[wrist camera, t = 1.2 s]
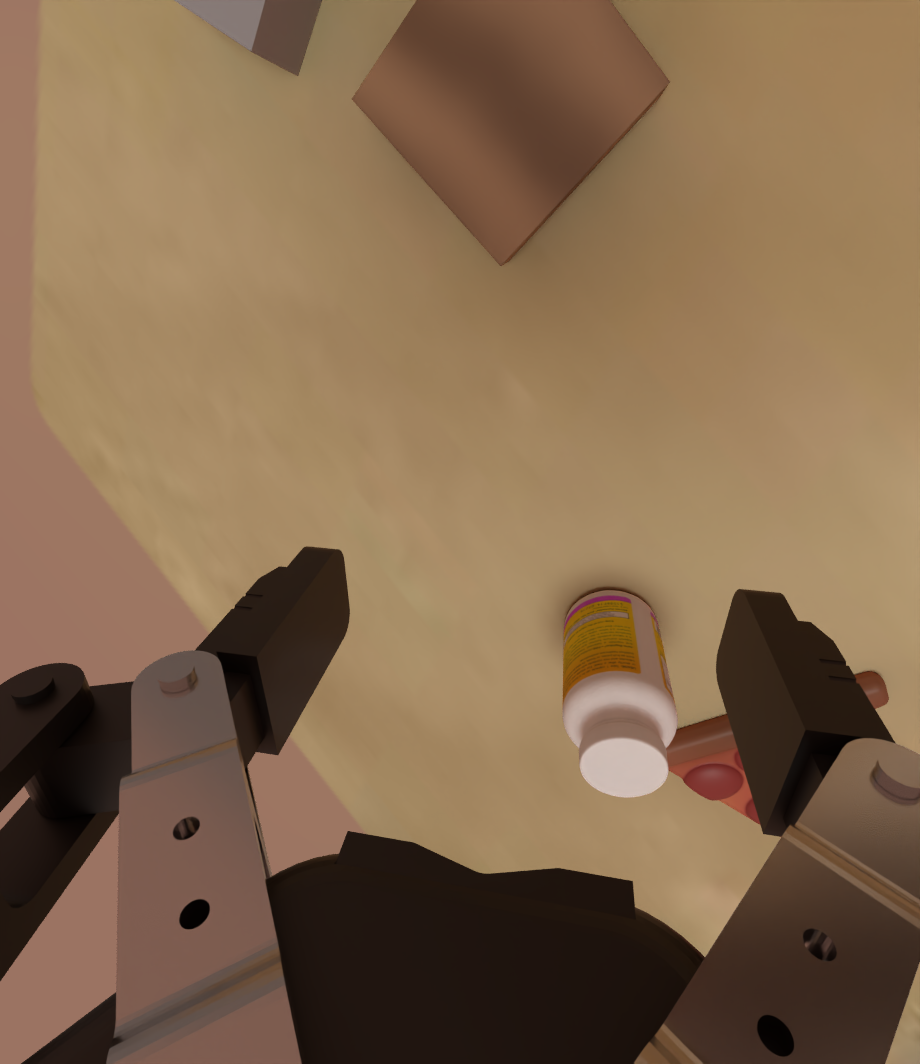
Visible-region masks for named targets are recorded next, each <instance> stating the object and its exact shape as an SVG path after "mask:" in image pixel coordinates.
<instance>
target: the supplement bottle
mask: <svg viewBox="0 0 920 1064" xmlns="http://www.w3.org/2000/svg"><path fill="white" fill-rule="evenodd" d="M563 722H564V726H565V729H566V732H567V734H568V735H569V737H570V738H571V740H572V741H573V742H574V744H575V745H576V746H577V747H578V748H579V765H580V770H581V773H582V775H583V777H584V778H585V780H586V781H587V782H588V783H589V784H590V785H591V786H592V787H594V788H595V789H597V790H599V791H601V792H603V793H606V794H609V795H613V796H618V797H637V796H642V795H646V794H649V793H651V792H653V791H655V790H657V789H658V788H659V787H660V786H661V785H662V784H663V783H664V782H665V780H666V778H667V775H668V760H667V751H666V748H667V747H668V746H669V744H670V743H671V741H672V740H673V738H674V736H675V733H676V729H677V723H678V719H677V711H676V706H675V701H674V697H673V692H672V688H671V683H670V678H669V674H668V669H667V664H666V659H665V654H664V649H663V645H662V640H661V635H660V631H659V626H658V623H657V619H656V617H655V615H654V613H653V611H652V610H651V608H650V607H649V606H648V605H647V604H646V603H645V602H644V601H642V600H641V599H639V598H638V597H636V596H634V595H632V594H629V593H626V592H622V591H615V590H605V591H599V592H595V593H591V594H589V595H587V596H585V597H583V598H581V599H580V600H579V601H577V602H576V603H575V604H574V605H573V606H572V608H571V609H570V611H569V612H568V614H567V616H566V619H565V624H564V658H563Z"/></svg>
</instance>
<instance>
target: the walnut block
mask: <svg viewBox="0 0 920 1064" xmlns="http://www.w3.org/2000/svg"><path fill="white" fill-rule="evenodd" d="M669 83H670V81H669V80H668V79H667V77H666V76H665V75H664V73H663V72H662V70H661V69H660V68H659V66H658V65H657V64H656V62H655V61H654V60H653V58H652V57H651V56H650V54H649V53H648V51H647V50H646V49H645V47H644V46H643V45H642V43H641V42H640V41H639V39H638V38H637V37H636V35H635V34H634V33H633V31H632V30H631V28H630V27H629V26H628V24H627V23H626V22H625V20H624V19H623V18H622V16H621V15H620V14H619V12H618V11H617V10H616V8H615V7H614V5H613V4H612V3H611V1H610V0H417V1H416V2H415V4H414V5H413V7H412V8H411V10H410V11H409V13H408V14H407V16H406V17H405V19H404V20H403V22H402V23H401V25H400V26H399V28H398V29H397V31H396V33H395V34H394V36H393V37H392V39H391V40H390V42H389V43H388V45H387V46H386V48H385V49H384V51H383V52H382V54H381V55H380V57H379V58H378V60H377V61H376V63H375V64H374V66H373V67H372V69H371V70H370V72H369V74H368V75H367V77H366V78H365V80H364V81H363V83H362V84H361V86H360V87H359V89H358V90H357V92H356V93H355V95H354V96H353V98H352V100H353V101H354V102H355V103H356V104H357V106H358V107H359V108H360V109H361V110H362V111H363V112H364V113H365V114H366V116H367V117H368V118H369V119H370V120H371V121H372V122H373V123H374V125H375V126H376V127H377V128H378V129H379V130H380V131H381V132H382V134H383V135H384V136H385V137H386V138H387V139H388V140H389V141H390V142H391V144H392V145H393V146H394V147H395V148H396V149H397V150H398V151H399V153H400V154H401V155H402V156H403V157H404V158H405V159H406V160H407V162H408V163H409V164H410V165H411V166H412V167H413V168H414V169H415V171H416V172H417V173H418V174H419V175H420V176H421V177H422V178H423V179H424V181H425V182H426V183H427V184H428V185H429V186H430V187H431V188H432V190H433V191H434V192H435V193H436V194H437V195H438V196H439V197H440V199H441V200H442V201H443V202H444V203H445V204H446V205H447V206H448V208H449V209H450V210H451V211H452V212H453V213H454V214H455V215H456V216H457V218H458V219H459V220H460V221H461V222H462V223H463V224H464V225H465V227H466V228H467V229H468V230H469V231H470V232H471V233H472V234H473V236H474V237H475V238H476V239H477V240H478V241H479V242H480V243H481V245H482V246H483V247H484V248H485V249H486V250H487V251H488V252H489V253H490V255H491V256H492V257H493V258H494V259H495V260H496V261H497V262H498V264H499V265H500V266H502V265H503V264H505V263H507V262H508V261H509V260H510V259H511V258H512V257H513V256H514V255H515V254H516V253H517V251H518V250H519V249H520V248H521V247H522V246H523V245H524V244H525V243H526V242H527V241H528V240H529V238H530V237H531V236H532V235H533V234H534V233H535V232H536V231H537V230H538V229H539V228H540V226H541V225H542V224H543V223H544V222H545V221H546V220H547V219H548V218H549V217H550V216H551V215H552V213H553V212H554V211H555V210H556V209H557V208H558V207H559V206H560V205H561V204H562V203H563V202H564V200H565V199H566V198H567V197H568V196H569V195H570V194H571V193H572V192H573V191H574V190H575V189H576V187H577V186H578V185H579V184H580V183H581V182H582V181H583V180H584V179H585V178H586V177H587V175H588V174H589V173H590V172H591V171H592V170H593V169H594V168H595V167H596V166H597V165H598V164H599V162H600V161H601V160H602V159H603V158H604V157H605V156H606V155H607V154H608V153H609V152H610V151H611V149H612V148H613V147H614V146H615V145H616V144H617V143H618V142H619V141H620V140H621V139H622V138H623V136H624V135H625V134H626V133H627V132H628V131H629V130H630V129H631V128H632V127H633V126H634V125H635V123H636V122H637V121H638V120H639V119H640V118H641V117H642V116H643V115H644V114H645V113H646V111H647V110H648V109H649V108H650V107H651V106H652V105H653V104H654V103H655V102H656V101H657V100H658V98H659V97H660V96H661V94H662V93H663V91H664V90H665V88H666V87H667V86H668V84H669Z"/></svg>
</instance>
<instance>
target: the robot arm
mask: <svg viewBox="0 0 920 1064" xmlns="http://www.w3.org/2000/svg"><path fill="white" fill-rule="evenodd" d="M349 615H350V609H349V599H348V590H347V581H346V572H345V563H344V557H343V554H342V552H341V551H340V550H338V549H328V548H317V547H304V548H303V549H302V550H301V551H300V552H299V553H298V555H297V556H296V557H295V558H294V559H293V561H292V562H291V563H290V564H289V565H288V567H278V568H276V569H274V570H273V571H271V572H269V573H268V574H266V575H264V576H262V577H261V578H259V579H258V580H257V581H256V582H255V584H254V585H253V586H252V587H251V588H250V589H249V590H248V591H247V593H246V596H245V597H244V596H243V597H242V598H241V599H240V600H239V602H238V603H237V604H236V605H235V608H234V609H231V610H230V612H229V613H228V614H227V615H226V616H225V617H224V618H223V619H222V621H221V622H220V623H219V624H218V625H217V626H216V627H215V628H214V630H213V631H212V632H211V633H210V634H209V635H208V636H207V637H206V639H205V640H204V641H203V642H202V643H201V644H200V645H199V646H198V647H197V649H196V650H195V651H183V652H178V653H174V654H171V655H168V656H166V657H164V658H161V659H159V660H157V661H155V662H154V663H152V664H151V665H149V666H148V667H146V668H145V669H144V670H143V671H142V672H141V673H140V674H139V675H138V676H137V677H136V679H135V681H134V682H125V683H116V684H107V685H99V686H89V685H88V682H87V680H86V677H85V675H84V673H83V671H82V670H81V669H80V668H79V667H78V666H75V665H73V664H67V663H54V664H48V665H42V666H39V667H35V668H32V669H29V670H27V671H25V672H22V673H20V674H18V675H16V676H14V677H12V678H10V679H9V680H7V681H6V682H4V683H3V684H1V685H0V812H1V811H2V810H3V808H4V807H5V806H6V805H7V804H8V803H9V802H10V801H11V800H12V799H13V797H14V796H15V795H16V794H17V793H18V792H19V791H20V790H21V789H22V788H23V786H25V788H26V790H27V792H28V794H29V796H30V797H29V798H28V800H27V801H26V802H25V803H24V804H23V805H22V806H21V808H20V809H19V810H18V811H17V812H16V813H15V814H14V815H13V817H12V818H11V819H10V820H9V821H8V822H7V824H6V825H5V826H4V827H3V828H2V829H1V830H0V981H1V979H2V978H3V977H4V975H5V974H6V972H7V971H8V970H9V968H10V967H11V965H12V964H13V962H14V961H15V959H16V958H17V957H18V955H19V954H20V952H21V951H22V950H23V948H24V947H25V945H26V944H27V943H28V941H29V940H30V938H31V937H32V935H33V934H34V933H35V931H36V930H37V928H38V927H39V926H40V924H41V923H42V921H43V920H44V919H45V917H46V916H47V914H48V913H49V911H50V910H51V909H52V907H53V906H54V904H55V903H56V902H57V900H58V899H59V897H60V896H61V895H62V893H63V892H64V890H65V889H66V887H67V886H68V884H69V883H70V882H71V880H72V879H73V878H74V876H75V874H76V873H77V872H78V870H79V869H80V868H81V866H82V865H83V863H84V862H85V861H86V859H87V858H88V856H89V855H90V853H91V852H92V851H93V849H94V848H95V846H96V845H97V844H98V842H99V841H100V839H101V838H102V836H103V835H104V834H105V832H106V831H107V829H108V828H109V827H110V825H111V823H112V822H113V821H114V819H115V818H116V817H117V815H118V814H119V847H118V853H119V854H118V914H117V915H118V917H117V981H116V993H115V994H113V995H112V996H110V997H109V998H108V999H106V1000H105V1001H104V1002H102V1003H101V1004H100V1005H99V1006H97V1007H96V1008H94V1009H93V1010H92V1011H91V1012H89V1013H88V1014H86V1015H85V1016H84V1017H82V1018H81V1019H80V1020H78V1021H77V1022H76V1023H74V1024H73V1025H72V1026H71V1027H69V1028H68V1029H66V1030H65V1031H64V1032H62V1033H61V1034H60V1035H59V1036H57V1037H56V1038H55V1039H53V1040H52V1041H51V1042H50V1043H48V1044H47V1045H45V1046H44V1047H43V1048H41V1049H40V1050H39V1051H37V1052H36V1053H35V1054H33V1055H32V1056H31V1057H29V1058H28V1059H27V1060H25V1061H24V1062H23V1063H21V1064H885V1063H886V1060H887V1057H888V1054H889V1051H890V1048H891V1045H892V1042H893V1039H894V1036H895V1033H896V1030H897V1027H898V1024H899V1021H900V1018H901V1015H902V1012H903V1010H904V1007H905V1004H906V1001H907V998H908V995H909V992H910V989H911V986H912V983H913V980H914V977H915V974H916V971H917V968H918V965H919V962H920V754H918V753H916V752H914V751H912V750H910V749H908V748H906V747H904V746H901V745H898V744H896V743H895V742H894V740H893V738H892V737H891V735H890V733H889V732H888V730H887V728H886V727H885V725H884V723H883V722H882V720H881V718H880V717H879V715H878V714H877V712H876V710H875V709H874V707H873V705H872V704H871V702H870V700H869V699H868V697H867V695H866V694H865V692H864V691H863V689H862V687H861V686H860V684H859V683H856V677H855V676H854V674H853V672H852V671H851V669H850V667H849V666H846V661H845V659H844V658H843V656H842V654H841V653H840V651H839V649H838V648H837V646H836V644H835V643H834V641H833V640H832V639H830V638H829V637H828V636H827V635H826V634H824V633H823V632H822V631H821V630H819V629H818V628H817V627H816V626H815V625H813V624H812V623H811V622H804V621H798V620H797V618H796V617H795V615H794V613H793V611H792V609H791V608H790V606H789V604H788V602H787V600H786V598H785V597H784V595H783V594H781V593H775V592H765V591H754V590H744V589H739V590H737V591H736V592H735V594H734V596H733V599H732V603H731V606H730V610H729V613H728V617H727V621H726V624H725V628H724V631H723V635H722V638H721V642H720V646H719V649H718V654H717V661H716V674H717V682H718V686H719V689H720V692H721V696H722V699H723V702H724V706H725V709H726V712H727V715H728V719H729V722H730V725H731V729H732V732H733V735H734V739H735V742H736V745H737V749H738V752H739V755H740V758H741V762H742V765H743V768H744V772H745V775H746V778H747V782H748V785H749V788H750V792H751V795H752V798H753V802H754V805H755V808H756V811H757V815H758V818H759V821H760V825H761V828H762V831H763V834H767V835H774V836H780V837H781V839H780V840H779V842H778V843H777V845H776V847H775V848H774V850H773V851H772V853H771V854H770V856H769V858H768V859H767V861H766V862H765V864H764V865H763V867H762V869H761V870H760V872H759V873H758V875H757V877H756V878H755V880H754V881H753V883H752V884H751V886H750V888H749V889H748V891H747V892H746V894H745V895H744V897H743V899H742V900H741V902H740V903H739V905H738V907H737V908H736V910H735V911H734V913H733V914H732V916H731V918H730V919H729V921H728V922H727V924H726V925H725V927H724V929H723V930H722V932H721V933H720V935H719V936H718V938H717V940H716V941H715V943H714V944H713V946H712V948H711V949H710V951H709V952H708V954H707V955H706V957H704V956H703V955H702V954H701V953H700V952H699V951H698V950H697V949H696V948H695V947H694V946H692V945H691V944H690V943H689V942H688V941H687V940H686V939H685V938H684V937H682V936H681V935H680V934H678V933H677V932H676V931H674V930H673V929H672V928H670V927H669V926H668V925H666V924H665V923H663V922H662V921H660V920H658V919H656V918H655V917H653V916H651V915H650V914H648V913H646V912H644V911H642V910H640V909H638V908H636V907H635V904H634V892H633V881H629V880H623V879H617V878H612V877H606V876H600V875H595V874H589V873H583V872H578V871H572V870H566V869H560V868H554V869H542V870H530V871H518V872H505V873H493V874H483V873H479V872H476V871H473V870H471V869H469V868H467V867H465V866H463V865H460V864H458V863H456V862H454V861H452V860H450V859H448V858H446V857H443V856H441V855H439V854H437V853H435V852H433V851H431V850H428V849H426V848H424V847H422V846H420V845H418V844H416V843H413V842H407V841H401V840H396V839H390V838H384V837H379V836H373V835H367V834H362V833H356V832H350V831H348V832H347V835H346V837H345V840H344V842H343V845H342V848H341V850H340V853H339V854H332V855H327V856H322V857H317V858H313V859H310V860H307V861H304V862H301V863H298V864H296V865H294V866H292V867H289V868H287V869H285V870H283V871H280V872H279V873H277V874H275V875H274V876H272V873H271V869H270V865H269V860H268V856H267V852H266V847H265V842H264V838H263V833H262V829H261V824H260V820H259V815H258V811H257V806H256V801H255V797H254V792H253V788H252V783H251V779H250V774H249V770H248V764H249V762H250V761H251V759H252V757H253V756H254V754H255V752H260V753H267V754H274V755H278V754H279V753H280V751H281V749H282V747H283V746H284V744H285V742H286V740H287V738H288V737H289V735H290V733H291V731H292V730H293V728H294V726H295V724H296V722H297V721H298V719H299V717H300V715H301V713H302V712H303V710H304V708H305V706H306V705H307V703H308V701H309V699H310V697H311V696H312V694H313V692H314V690H315V689H316V687H317V685H318V683H319V681H320V680H321V678H322V676H323V674H324V673H325V671H326V669H327V667H328V665H329V664H330V662H331V660H332V658H333V656H334V655H335V653H336V651H337V649H338V648H339V646H340V644H341V642H342V640H343V639H344V637H345V634H346V632H347V628H348V623H349Z"/></svg>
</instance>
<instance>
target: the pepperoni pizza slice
mask: <svg viewBox="0 0 920 1064" xmlns="http://www.w3.org/2000/svg"><path fill="white" fill-rule="evenodd" d="M854 676H855V677H856V683H859V684H860V686H861V687H862V689H863V691H864V692H865V694H866V695H867V697H868V699H869V700H870V702H871V704H872V705H873V707H874V709H876V708H879V707H881V706H883V705H885V704H887V702H888V700H889V697H888V693H887V689H886V685H885V683H884V681H883V679H882V678H881V677H880V676H879V675H878V674H876V673H874V672H864V673H860V674H857V675H854ZM666 751H667V760H668V770H669V771H671V772H673V773H674V774H676V775H678V776H679V777H681V778H682V779H683V781H684V783H685V784H686V785H687V786H688V787H689V788H691V789H692V790H693V791H695V792H696V793H698V794H699V795H701V796H703V797H705V798H707V799H709V800H719V801H721V802H723V803H725V804H726V805H728V806H730V807H731V808H733V809H735V810H736V811H738V812H740V813H741V814H743V815H745V816H746V817H748V818H750V819H751V820H753V821H754V822H756V823H758V824H760V821H759V818H758V815H757V811H756V808H755V805H754V802H753V798H752V795H751V792H750V788H749V785H748V782H747V778H746V775H745V772H744V768H743V765H742V762H741V758H740V755H739V752H738V749H737V745H736V742H735V739H734V735H733V732H732V729H731V725H730V722H729V719H728V715H727V714H726V715H723V716H720V717H717V718H713V719H710V720H707V721H703V722H700V723H697V724H694V725H690V726H687V727H684V728H681V729H677V730H676V733H675V736H674V738H673V740H672V741H671V743H670V744H669V746H668V747H667V748H666Z"/></svg>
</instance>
